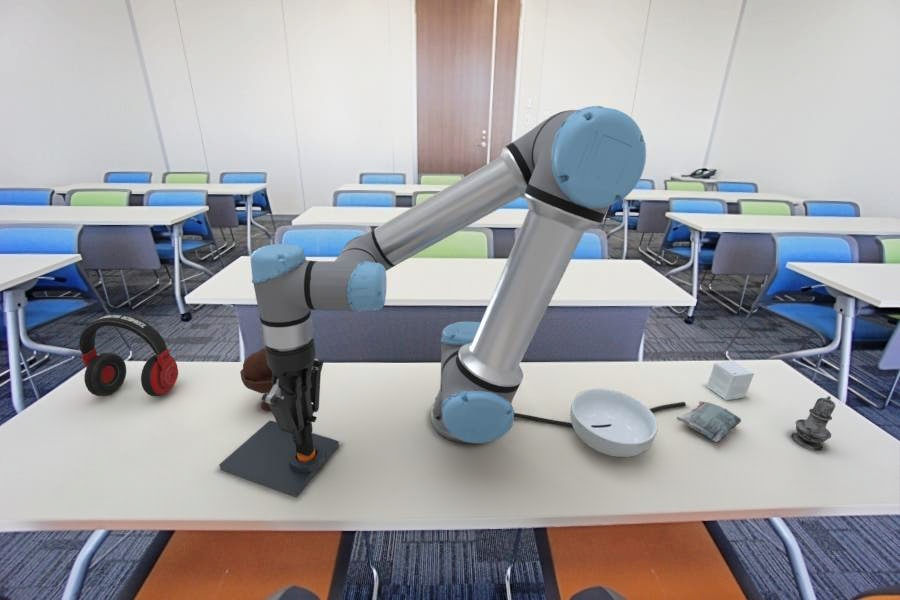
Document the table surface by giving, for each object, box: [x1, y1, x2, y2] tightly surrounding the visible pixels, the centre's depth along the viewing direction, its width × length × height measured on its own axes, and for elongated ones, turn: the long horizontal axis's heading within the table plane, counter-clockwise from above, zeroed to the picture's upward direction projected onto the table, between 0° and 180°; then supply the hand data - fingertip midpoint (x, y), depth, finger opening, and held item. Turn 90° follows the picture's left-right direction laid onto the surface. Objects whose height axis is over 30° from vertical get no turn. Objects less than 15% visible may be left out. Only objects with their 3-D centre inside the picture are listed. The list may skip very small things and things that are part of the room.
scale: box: [218, 419, 340, 498], centre depth 76 cm, size 18×13×3 cm
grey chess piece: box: [790, 395, 836, 452], centre depth 83 cm, size 6×6×12 cm
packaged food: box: [676, 400, 742, 443], centre depth 88 cm, size 9×12×5 cm
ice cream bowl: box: [239, 347, 284, 412], centre depth 89 cm, size 11×11×15 cm
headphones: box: [78, 313, 179, 397], centre depth 90 cm, size 18×10×20 cm, turn 92°
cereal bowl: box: [569, 388, 659, 458], centre depth 83 cm, size 17×17×7 cm
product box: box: [706, 360, 755, 401], centre depth 100 cm, size 6×6×7 cm
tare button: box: [297, 449, 316, 462], centre depth 74 cm, size 3×3×2 cm
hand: (305, 451), depth 74 cm, fingers closed
